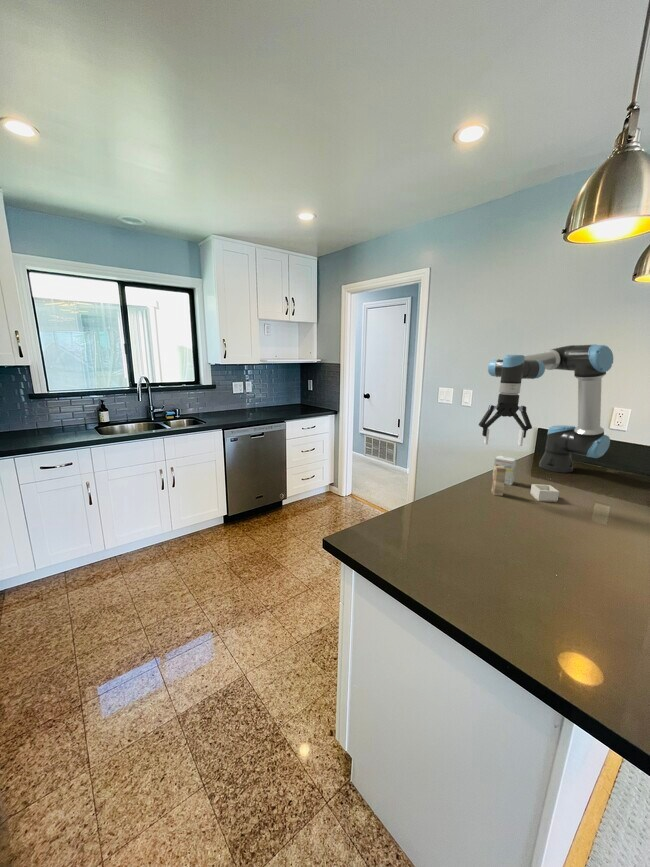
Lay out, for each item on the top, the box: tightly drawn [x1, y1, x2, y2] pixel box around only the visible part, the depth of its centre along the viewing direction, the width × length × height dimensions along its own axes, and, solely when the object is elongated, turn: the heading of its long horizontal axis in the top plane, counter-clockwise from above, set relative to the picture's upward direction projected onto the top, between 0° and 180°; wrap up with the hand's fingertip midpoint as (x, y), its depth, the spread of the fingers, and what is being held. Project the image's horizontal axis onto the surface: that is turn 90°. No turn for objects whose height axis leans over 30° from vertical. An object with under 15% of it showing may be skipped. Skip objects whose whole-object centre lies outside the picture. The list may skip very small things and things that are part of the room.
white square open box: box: [529, 483, 560, 503], centre depth 147 cm, size 7×7×4 cm
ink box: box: [491, 455, 517, 486], centre depth 164 cm, size 9×5×12 cm, turn 50°
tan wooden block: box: [491, 465, 506, 497], centre depth 150 cm, size 4×4×12 cm
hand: (502, 444), depth 146 cm, fingers open, 13 cm apart
